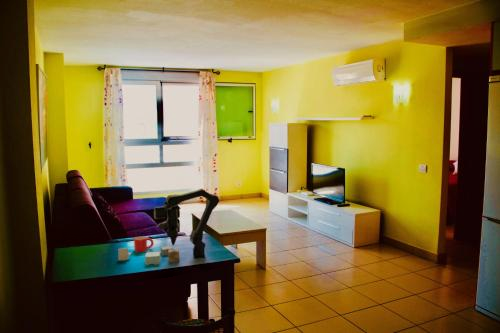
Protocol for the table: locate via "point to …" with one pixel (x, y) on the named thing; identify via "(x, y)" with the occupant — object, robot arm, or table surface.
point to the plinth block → (152, 258)
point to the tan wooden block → (165, 250)
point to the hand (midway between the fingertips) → (173, 242)
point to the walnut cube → (173, 255)
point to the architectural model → (123, 254)
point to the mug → (142, 243)
